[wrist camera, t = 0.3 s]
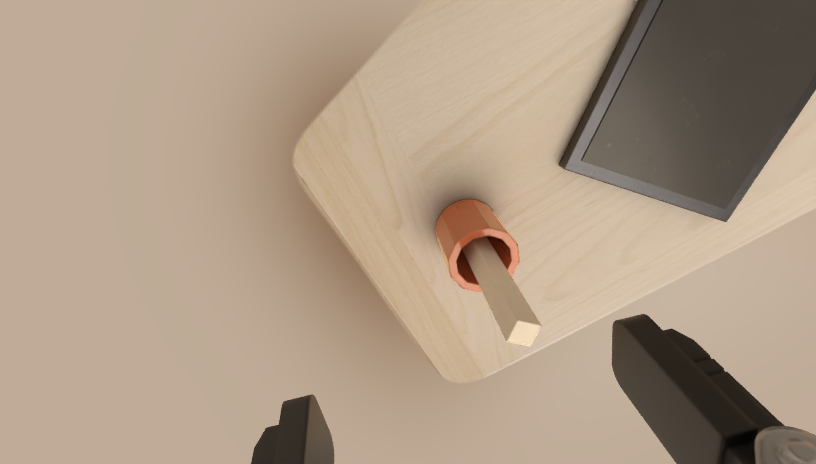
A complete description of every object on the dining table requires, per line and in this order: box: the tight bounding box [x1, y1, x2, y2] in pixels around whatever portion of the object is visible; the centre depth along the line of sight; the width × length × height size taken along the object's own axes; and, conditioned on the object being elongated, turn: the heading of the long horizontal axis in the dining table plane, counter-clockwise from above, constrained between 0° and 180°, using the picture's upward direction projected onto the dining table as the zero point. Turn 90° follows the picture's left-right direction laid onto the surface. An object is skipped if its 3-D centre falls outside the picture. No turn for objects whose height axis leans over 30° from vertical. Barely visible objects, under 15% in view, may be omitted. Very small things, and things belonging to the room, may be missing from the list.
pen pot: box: [436, 199, 519, 292], centre depth 34 cm, size 5×5×6 cm
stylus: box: [462, 236, 541, 347], centre depth 30 cm, size 2×2×13 cm
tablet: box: [559, 0, 816, 222], centre depth 32 cm, size 22×16×1 cm
